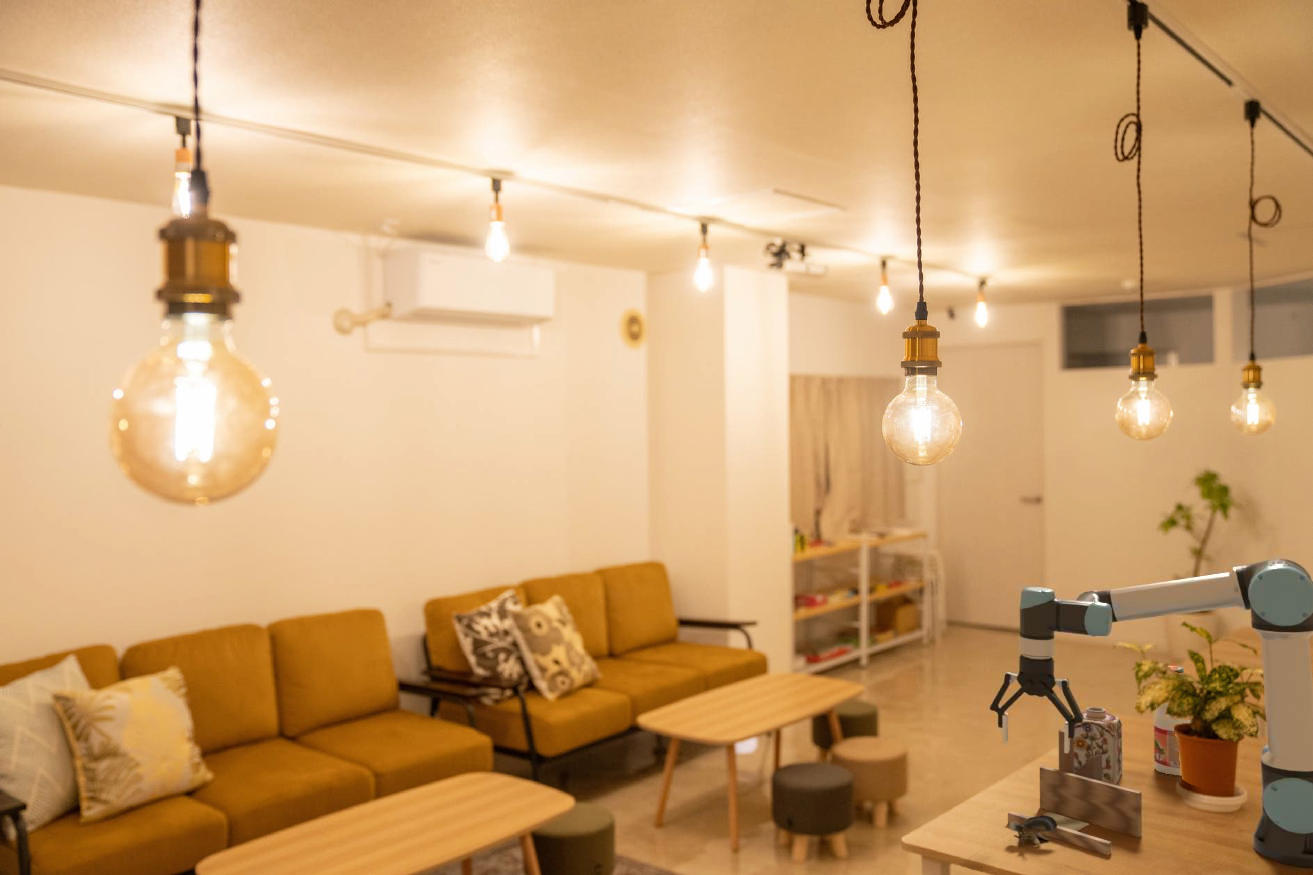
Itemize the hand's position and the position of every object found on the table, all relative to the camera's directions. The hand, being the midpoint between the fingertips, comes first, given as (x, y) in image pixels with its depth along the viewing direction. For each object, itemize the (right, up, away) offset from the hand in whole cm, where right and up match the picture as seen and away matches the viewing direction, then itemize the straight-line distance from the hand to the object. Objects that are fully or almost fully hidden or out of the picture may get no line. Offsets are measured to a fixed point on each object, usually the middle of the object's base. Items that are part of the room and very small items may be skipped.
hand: (1035, 746), depth 237 cm
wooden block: (+16, -19, +14) cm, 28 cm away
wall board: (+9, -19, 0) cm, 21 cm away
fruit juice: (+52, -19, +39) cm, 68 cm away
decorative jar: (+30, -19, +36) cm, 50 cm away
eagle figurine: (-3, -20, -8) cm, 21 cm away
